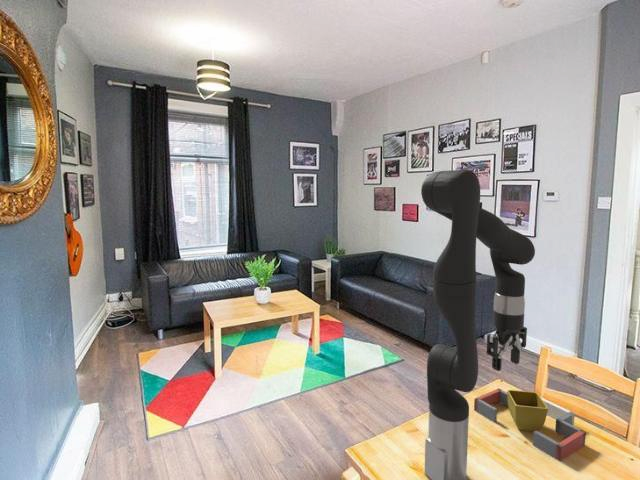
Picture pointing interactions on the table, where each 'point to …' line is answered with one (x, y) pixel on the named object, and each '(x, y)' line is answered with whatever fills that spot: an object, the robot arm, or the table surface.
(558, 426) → the box
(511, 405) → the flower pot
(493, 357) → the robot arm
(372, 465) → the table surface
